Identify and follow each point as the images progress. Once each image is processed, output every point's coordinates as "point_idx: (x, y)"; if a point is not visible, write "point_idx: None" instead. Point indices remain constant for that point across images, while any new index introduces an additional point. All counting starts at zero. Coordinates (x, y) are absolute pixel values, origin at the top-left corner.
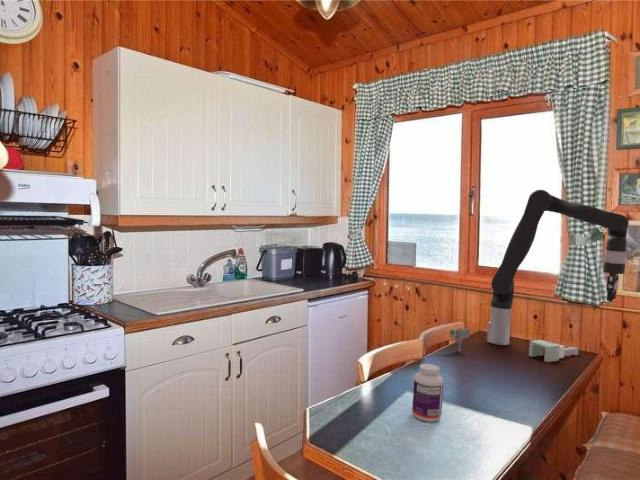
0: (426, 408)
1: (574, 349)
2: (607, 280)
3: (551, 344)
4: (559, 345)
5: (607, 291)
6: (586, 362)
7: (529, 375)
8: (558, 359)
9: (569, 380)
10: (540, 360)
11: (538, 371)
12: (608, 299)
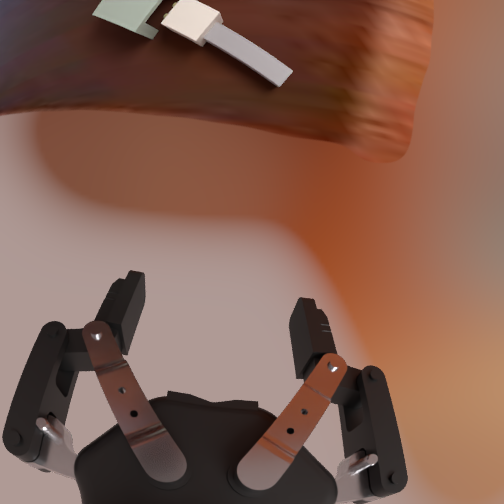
0: None
1: (260, 73)
2: (11, 404)
3: (131, 10)
4: (134, 31)
5: (95, 323)
6: (192, 107)
7: (2, 43)
8: (150, 38)
9: (15, 103)
10: None
11: (30, 40)
12: (119, 283)
